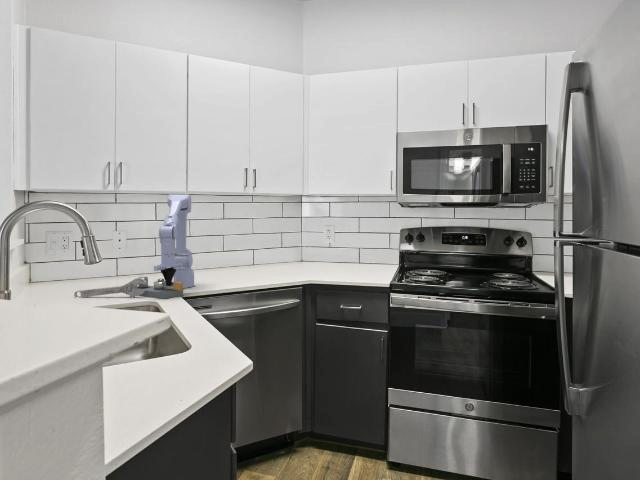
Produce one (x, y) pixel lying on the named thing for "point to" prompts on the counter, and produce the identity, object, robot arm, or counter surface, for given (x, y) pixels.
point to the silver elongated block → (174, 286)
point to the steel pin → (143, 286)
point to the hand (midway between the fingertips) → (168, 285)
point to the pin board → (161, 293)
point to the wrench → (115, 289)
